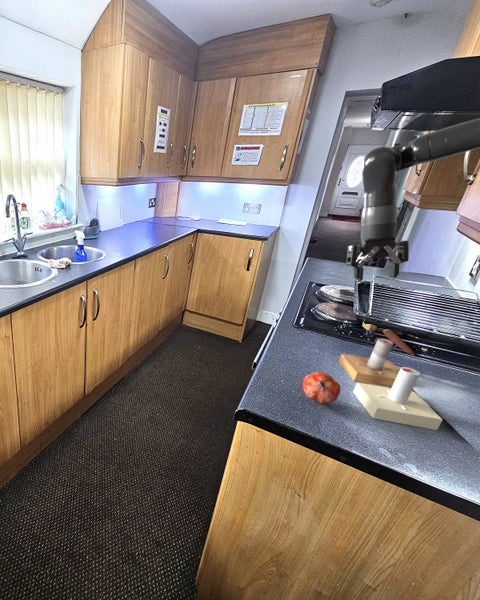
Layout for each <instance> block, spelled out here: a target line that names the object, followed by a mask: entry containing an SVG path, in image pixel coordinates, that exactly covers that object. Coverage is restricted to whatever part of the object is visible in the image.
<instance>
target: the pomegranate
mask: <svg viewBox="0 0 480 600" xmlns="http://www.w3.org/2000/svg"><path fill="white" fill-rule="evenodd" d="M302 382H303V384H302V391H303V392H304V394H305V395H306V397H308V398H309V399H310V400H313V401H315V402H317V403H319V404H321V405H331V404H332V403H334V402H335V401H336V400H337V399H338V398H339V395H340V393H341V385H340V384H339V382H338V381H336V380H335V379H334V378H333V377H332V376H331V374H328V373H326V372H323V371H322V372H321V371H316V372H312V373H311V374H307V375H306V376H305V377H304V379H303V381H302Z"/></svg>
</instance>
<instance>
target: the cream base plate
mask: <svg viewBox="0 0 480 600" xmlns="http://www.w3.org/2000/svg"><path fill="white" fill-rule="evenodd" d="M355 384H356V385H355V387H354V389H353V394H354V395H355V396H356V398H357V399H358V400H359V402H360V403H361V405H362V406H363V407H364V409H365V410H366V411H367V412H368V414H369V416H370V417H371V418H372V419H375V420H381V421H385V422H391V423H396V424H401V425H407V426H412V427H417V428H423V429H427V430H433V431H438V429H439V428H440V425H441V424H442V422H443V420H444V419H443V418H442V417H441V416H440V415H439V414H438V413H436V411H435V410H433V408H432V407H430V405H429V404H427V403H426V402H425V401H424V400H423V399H422V398H421V397H420V396H419V394H418V393H416V391H412V392H411V394H410V396H409V398H408V400H407V402H406V403H405V404H400V403H396V402H394V401H392V400H390V399H389V398H388V395H389V393H390V391H391V388H392V387H386V386H379V385H373V384H366V383H360V382H356V383H355Z"/></svg>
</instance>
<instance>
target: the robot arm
mask: <svg viewBox="0 0 480 600" xmlns="http://www.w3.org/2000/svg"><path fill="white" fill-rule="evenodd" d="M477 149H480V117H479V118H475V119H472V120H468V121H465V122H464V121H463V122H461V123H456V124H454V125H451V126H448V127H443V128H441V129H438V130H434V131H431V132H429V133H425V134H422V135H420V136H418V137H416V138H414V139H413V140H410V141H407V142H405V143H401V144H397V145H395V146H391V147H389V146H379V147H376V148H373V149H372V150H371V151H369V152H368V153H367V154H366V155H365V157H364V158H363V160H362V165H361V175H362V184H363V195H362V196H363V197H362V211H361V217H360V244H358V245H356V244H350V245H348V246H347V252H346V262H345V263H346V266H349V267H353V278H354V279H355V280H357V281H363V280H364V265H365V264H366V263H367V262H369V261H370V260H371V259H372V260H373V259H374V260H375V259H379V258H380V259H385V260H387V262H388V263H389V264H388V278H391V279H396V278H397V277H398V276H399V275H400V266H401V264H403V263H407V262H408V261H409V259H410V258H409V253H410V251H409V249H410V247H409V241H408V240H398V241H395V239H396V237H397V223H398V222H397V221H398V208H397V207H398V206H397V199H398V187H397V184H396V172H397V173H398V172H400V171H403V170H405V169H409V168H412V167H414V166H417V165H421V164H426V163H431V162H435V161H438V160H442V159H445V158H449V157H454V156H457V155H459V154H464V153H467V152H470V151H474V150H477ZM394 249H396V253H395V251H394ZM359 252H360V254H359V255H358V253H359Z"/></svg>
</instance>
